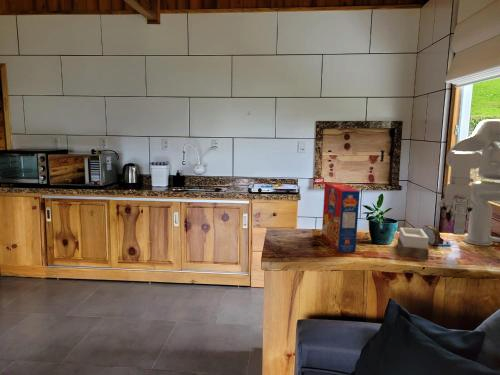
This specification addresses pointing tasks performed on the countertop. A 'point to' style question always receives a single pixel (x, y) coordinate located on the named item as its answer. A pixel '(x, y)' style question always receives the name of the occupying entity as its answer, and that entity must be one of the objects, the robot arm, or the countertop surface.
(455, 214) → the candy bar box
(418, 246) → the tower top
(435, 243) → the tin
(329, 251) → the countertop surface
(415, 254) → the tower base
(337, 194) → the cereal box
